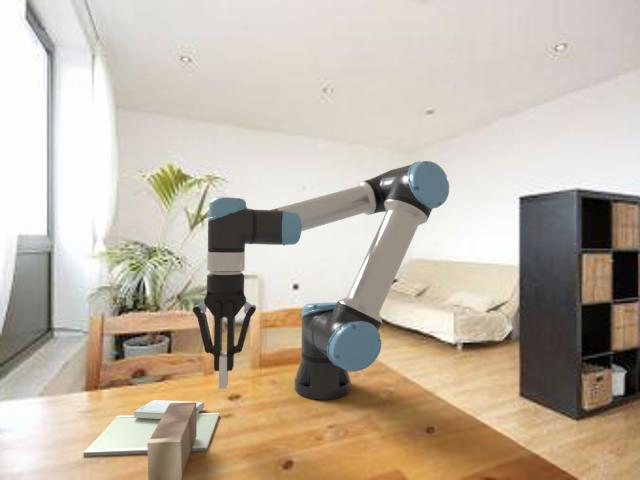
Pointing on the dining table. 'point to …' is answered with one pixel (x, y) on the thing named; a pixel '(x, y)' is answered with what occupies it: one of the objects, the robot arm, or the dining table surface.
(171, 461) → the walnut block
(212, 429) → the board
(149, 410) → the hard drive
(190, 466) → the dining table surface
